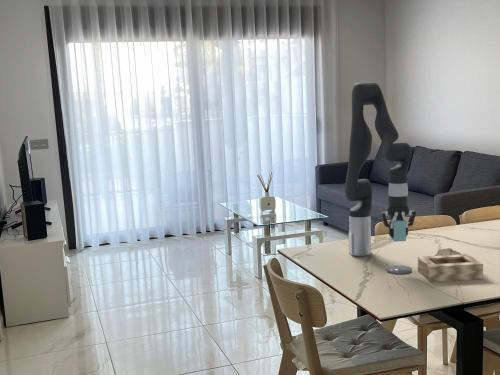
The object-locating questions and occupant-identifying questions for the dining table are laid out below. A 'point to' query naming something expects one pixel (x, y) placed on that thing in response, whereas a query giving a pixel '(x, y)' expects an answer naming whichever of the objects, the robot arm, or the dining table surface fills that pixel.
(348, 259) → the dining table surface
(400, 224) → the block
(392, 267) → the coaster
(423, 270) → the box
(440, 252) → the rock
